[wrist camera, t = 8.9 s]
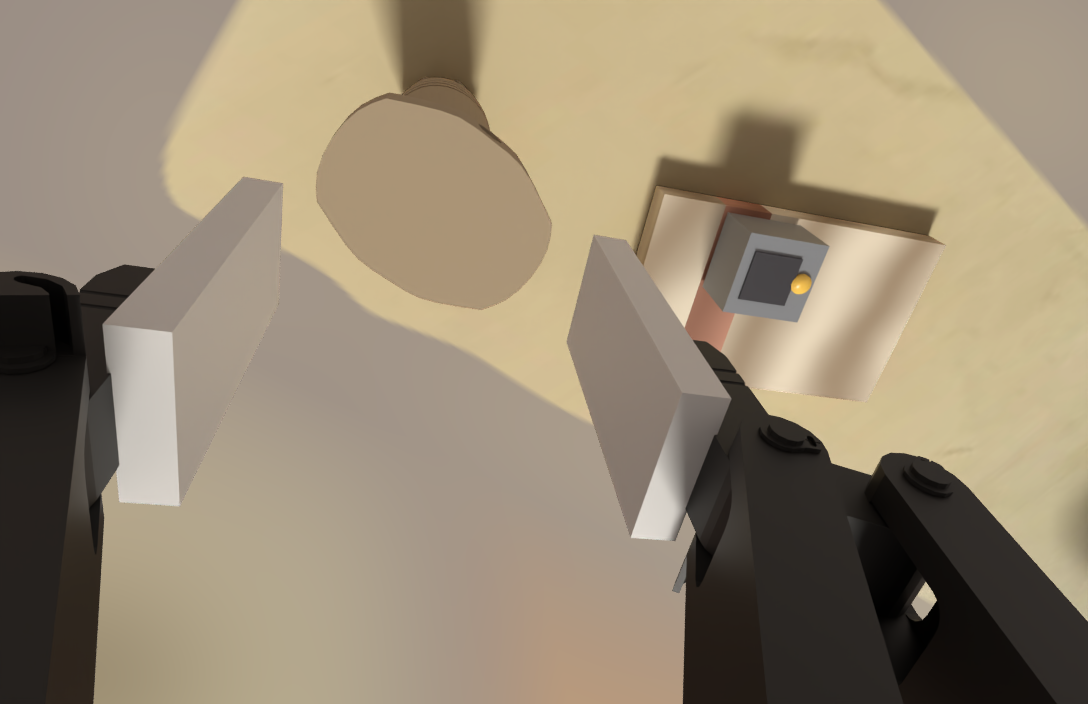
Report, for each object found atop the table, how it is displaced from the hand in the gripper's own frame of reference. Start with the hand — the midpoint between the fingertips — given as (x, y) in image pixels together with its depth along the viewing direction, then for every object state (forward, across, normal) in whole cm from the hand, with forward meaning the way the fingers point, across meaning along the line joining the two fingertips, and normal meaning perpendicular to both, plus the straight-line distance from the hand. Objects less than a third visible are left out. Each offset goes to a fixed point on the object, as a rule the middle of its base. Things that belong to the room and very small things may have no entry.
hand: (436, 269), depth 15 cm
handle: (+19, 0, 0) cm, 19 cm away
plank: (+19, -19, +6) cm, 28 cm away
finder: (+17, -16, +4) cm, 24 cm away
